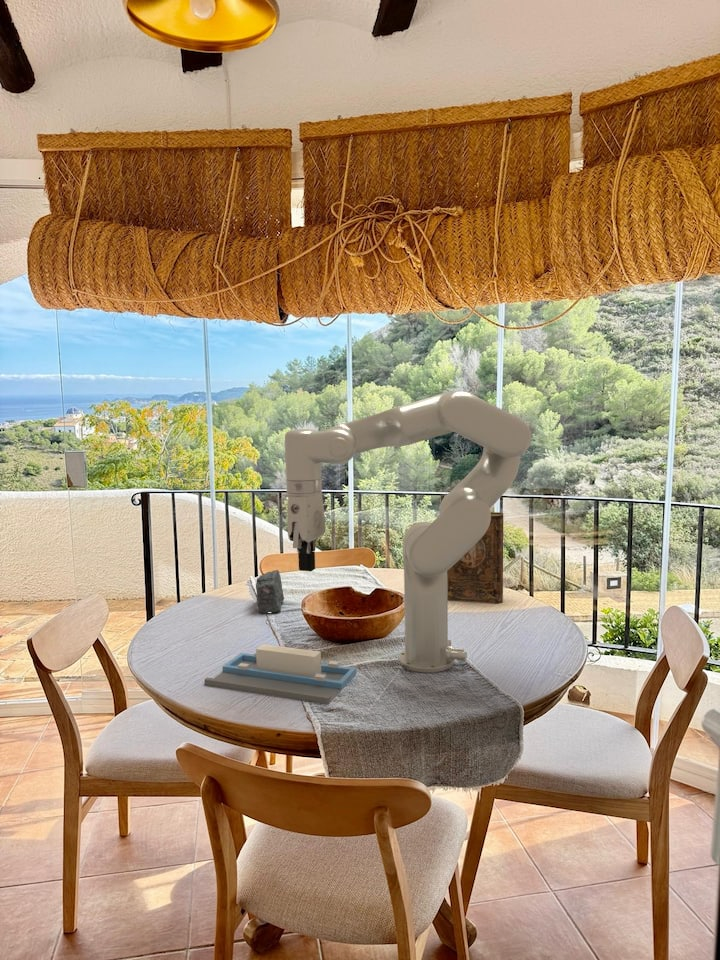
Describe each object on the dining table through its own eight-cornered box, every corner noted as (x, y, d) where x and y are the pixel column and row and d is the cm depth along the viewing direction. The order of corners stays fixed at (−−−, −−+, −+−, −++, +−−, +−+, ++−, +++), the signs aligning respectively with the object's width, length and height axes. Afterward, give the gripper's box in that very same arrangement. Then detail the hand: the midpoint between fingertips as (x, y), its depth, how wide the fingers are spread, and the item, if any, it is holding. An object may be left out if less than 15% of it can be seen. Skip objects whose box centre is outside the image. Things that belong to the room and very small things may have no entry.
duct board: (356, 676, 150) (356, 664, 150) (328, 708, 136) (328, 694, 136) (242, 660, 160) (241, 649, 160) (204, 688, 146) (204, 675, 145)
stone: (284, 614, 192) (283, 578, 191) (256, 615, 191) (254, 580, 190) (284, 600, 204) (283, 566, 203) (257, 601, 204) (256, 567, 202)
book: (503, 598, 201) (504, 512, 198) (501, 604, 196) (502, 516, 193) (446, 594, 206) (446, 510, 202) (443, 600, 201) (443, 514, 197)
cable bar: (321, 674, 150) (320, 651, 149) (315, 679, 147) (314, 657, 146) (263, 665, 155) (262, 644, 154) (256, 671, 152) (255, 649, 151)
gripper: (305, 493, 142) (308, 580, 145) (333, 482, 156) (336, 562, 159) (272, 491, 145) (275, 578, 148) (303, 481, 159) (306, 560, 161)
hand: (307, 569), depth 153 cm, fingers closed
